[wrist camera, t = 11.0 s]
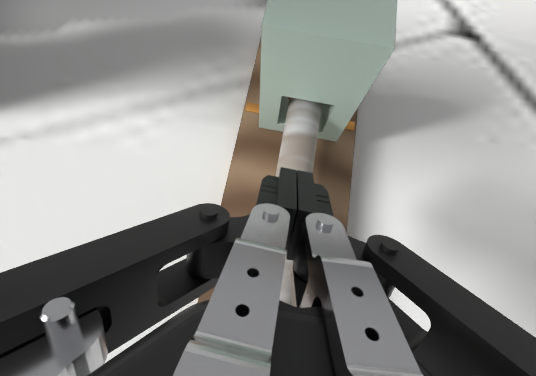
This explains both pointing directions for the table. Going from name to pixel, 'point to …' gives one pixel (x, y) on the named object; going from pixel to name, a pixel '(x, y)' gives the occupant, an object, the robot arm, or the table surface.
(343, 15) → the pale green rectangular block
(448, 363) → the robot arm
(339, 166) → the pipe stand
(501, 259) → the table surface
